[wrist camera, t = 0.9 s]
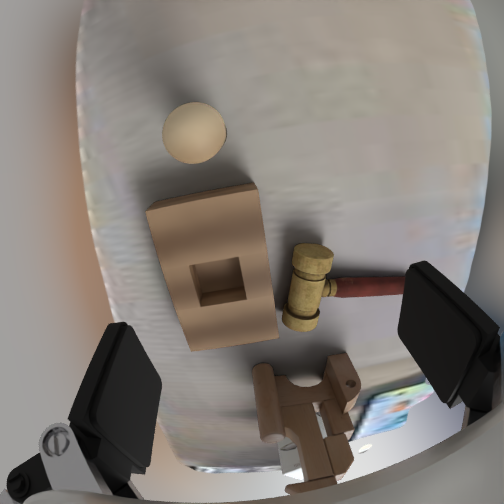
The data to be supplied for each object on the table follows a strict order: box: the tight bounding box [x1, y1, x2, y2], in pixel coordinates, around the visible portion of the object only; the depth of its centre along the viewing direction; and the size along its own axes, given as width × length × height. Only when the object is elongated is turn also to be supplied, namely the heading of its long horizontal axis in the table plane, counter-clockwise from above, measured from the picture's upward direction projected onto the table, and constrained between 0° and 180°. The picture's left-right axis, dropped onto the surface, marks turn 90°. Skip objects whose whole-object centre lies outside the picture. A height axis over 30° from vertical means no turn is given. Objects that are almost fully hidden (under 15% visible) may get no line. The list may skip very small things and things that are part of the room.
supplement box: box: [277, 414, 327, 480], centre depth 42 cm, size 7×7×13 cm
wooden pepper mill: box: [162, 102, 227, 164], centre depth 22 cm, size 4×4×12 cm
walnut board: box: [145, 183, 279, 352], centre depth 31 cm, size 18×11×4 cm, turn 9°
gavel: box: [282, 243, 405, 332], centre depth 35 cm, size 21×5×10 cm
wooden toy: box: [252, 353, 361, 495], centre depth 30 cm, size 16×7×25 cm, turn 92°
